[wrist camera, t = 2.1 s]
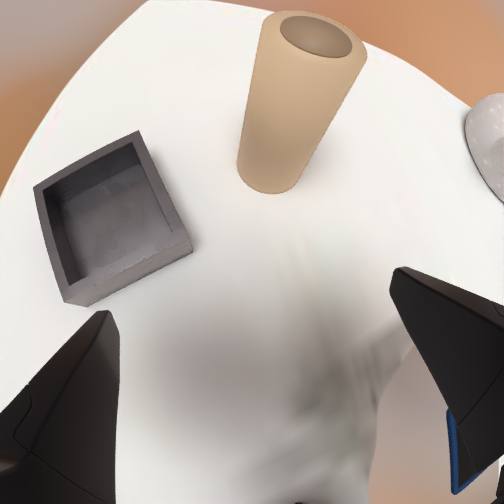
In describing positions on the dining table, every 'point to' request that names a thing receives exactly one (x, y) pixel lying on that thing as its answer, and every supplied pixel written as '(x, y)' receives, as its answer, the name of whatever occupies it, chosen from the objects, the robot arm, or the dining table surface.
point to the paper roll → (294, 95)
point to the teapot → (488, 140)
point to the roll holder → (108, 221)
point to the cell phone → (459, 458)
